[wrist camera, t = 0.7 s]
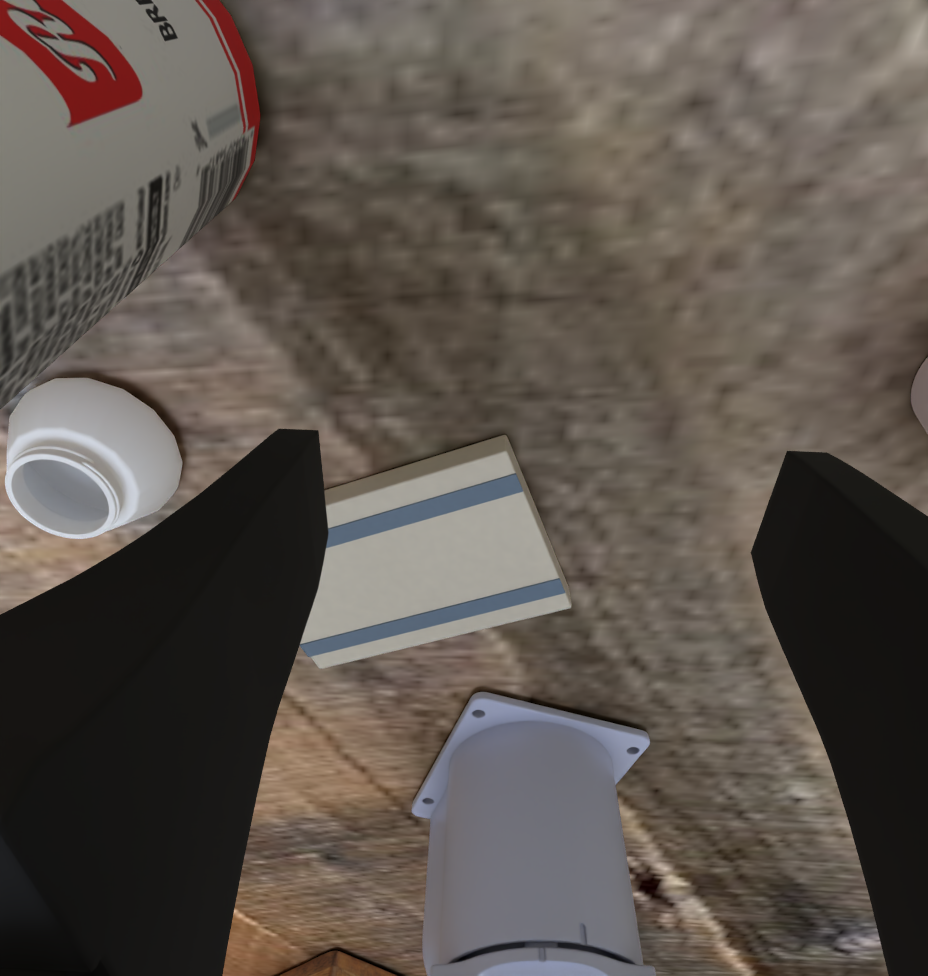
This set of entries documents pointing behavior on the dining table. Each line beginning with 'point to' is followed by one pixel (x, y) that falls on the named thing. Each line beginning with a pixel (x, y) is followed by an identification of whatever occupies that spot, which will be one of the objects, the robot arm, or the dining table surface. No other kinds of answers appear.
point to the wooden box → (337, 967)
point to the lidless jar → (88, 458)
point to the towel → (431, 556)
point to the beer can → (109, 156)
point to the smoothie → (921, 395)
